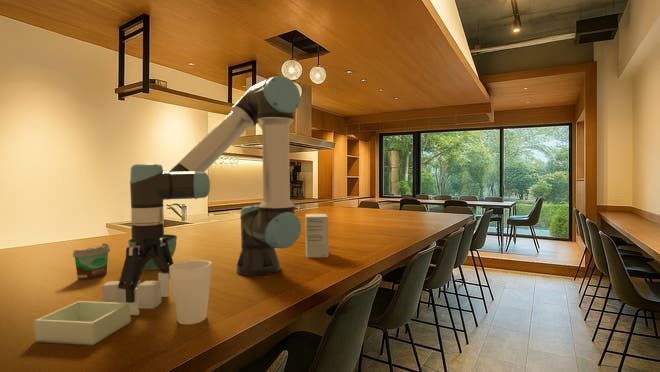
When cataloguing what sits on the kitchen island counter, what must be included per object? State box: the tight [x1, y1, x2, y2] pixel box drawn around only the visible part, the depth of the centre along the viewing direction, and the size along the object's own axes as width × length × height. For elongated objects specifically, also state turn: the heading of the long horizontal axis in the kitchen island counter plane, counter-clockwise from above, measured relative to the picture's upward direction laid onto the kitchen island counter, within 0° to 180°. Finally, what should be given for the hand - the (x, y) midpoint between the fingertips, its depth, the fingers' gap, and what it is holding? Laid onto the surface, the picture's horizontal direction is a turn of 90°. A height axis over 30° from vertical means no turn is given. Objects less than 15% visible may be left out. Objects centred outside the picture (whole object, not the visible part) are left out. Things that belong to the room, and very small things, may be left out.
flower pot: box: [127, 233, 178, 271], centre depth 132 cm, size 16×16×11 cm
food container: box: [72, 243, 111, 281], centre depth 121 cm, size 12×6×10 cm, turn 168°
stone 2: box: [116, 280, 142, 303], centre depth 95 cm, size 4×4×6 cm
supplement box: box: [304, 213, 329, 259], centre depth 150 cm, size 10×9×17 cm
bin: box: [34, 300, 132, 346], centre depth 79 cm, size 13×11×4 cm
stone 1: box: [101, 280, 120, 303], centre depth 98 cm, size 4×4×5 cm
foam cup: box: [169, 259, 213, 325], centre depth 85 cm, size 10×9×13 cm
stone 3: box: [138, 280, 162, 309], centre depth 94 cm, size 4×4×6 cm
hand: (149, 304), depth 94 cm, fingers open, 12 cm apart
